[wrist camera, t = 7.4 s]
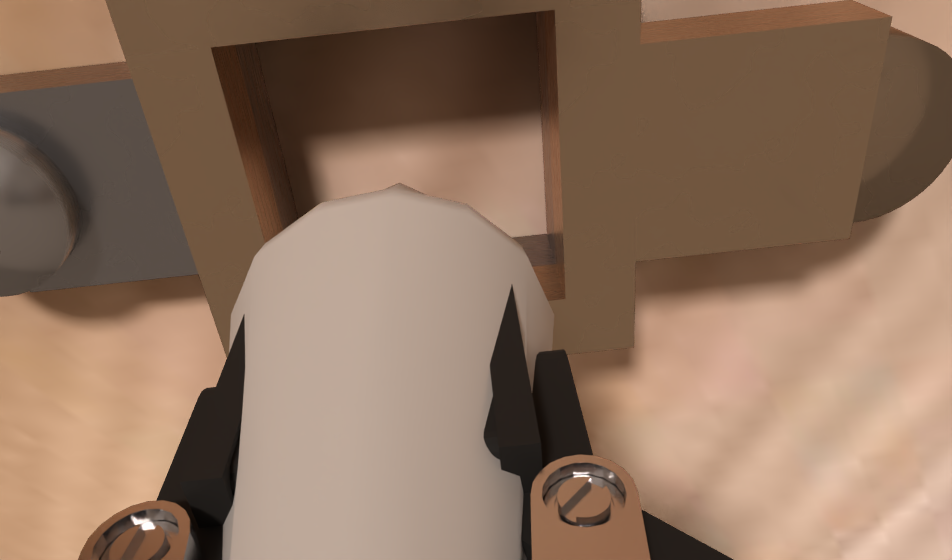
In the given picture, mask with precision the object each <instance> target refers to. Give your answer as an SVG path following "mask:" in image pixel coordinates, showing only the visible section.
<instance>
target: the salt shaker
mask: <svg viewBox="0 0 952 560" xmlns="http://www.w3.org/2000/svg"><path fill="white" fill-rule="evenodd" d="M511 285H512V286H513V291H514V297H515V302H516V308H517V313H518V319H519V324H520V330H521V335H522V341H523V346H524V352H525V357H526V363H527V369H528V374H529V380H530V385H531V391H532V390H533V380H534V370H535V360H536V356H537V354H538V353H539V352H543V351H552V343H553V327H554V313H553V311H552V309H551V307H550V305H549V302H548V300H547V298H546V296H545V294H544V292H543V289H542V287H541V285H540V283H539V281H538V278H537V276H536V274H535V272H534V270H533V268H532V265H531V263H530V261H529V259H528V257H527V255H526V253H525V251H524V249H523V247H522V246H521V244H519V243H518V242H517V241H515V240H514V239H513V238H511V237H510V236H509V235H507V234H506V233H505V232H503V231H502V230H501V229H499V228H498V227H497V226H495V225H494V224H493V223H491V222H490V221H489V220H487V219H486V218H485V217H483V216H482V215H481V214H479V213H478V212H477V211H475V210H474V209H473V208H472V207H470V206H469V205H468V204H465V203H460V202H456V201H451V200H446V199H442V198H437V197H433V196H428V195H426V194H423V193H421V192H419V191H417V190H415V189H412V188H410V187H408V186H406V185H403V184H401V183H398V184H396V185H393V186H391V187H389V188H386V189H384V190H380V191H375V192H370V193H365V194H360V195H355V196H351V197H346V198H341V199H336V200H331V201H326V202H321V203H320V204H319V205H317V206H316V207H314V208H313V209H312V210H310V211H309V212H308V213H306V214H305V215H303V216H302V217H301V218H299V219H298V220H297V221H295V222H294V223H292V224H291V225H290V226H288V227H287V228H286V229H284V230H283V231H281V232H280V233H279V234H277V235H276V236H275V237H273V238H272V239H271V240H269V241H268V242H266V243H265V244H264V246H263V247H262V248H261V249H260V250H259V252H258V253H257V254H256V255H255V256H254V259H253V261H252V264H251V266H250V269H249V271H248V274H247V276H246V279H245V281H244V284H243V286H242V289H241V291H240V294H239V296H238V299H237V301H236V303H235V306H234V308H233V311H232V313H231V324H230V344H229V352H230V349H231V347H232V344H233V341H234V339H235V336H236V334H237V331H238V328H239V326H240V323H241V321H242V318H243V315H245V380H244V395H243V409H242V421H241V431H240V445H239V459H238V471H237V480H236V488H235V494H234V496H233V497H234V498H233V505H232V508H231V510H230V512H229V514H228V516H227V518H226V520H225V522H224V524H223V551H222V560H527V558H526V556H525V554H524V550H523V546H522V541H521V534H522V514H523V495H524V493H523V488H522V484H521V479H520V476H518V475H515V474H512V473H509V472H506V471H503V470H501V465H500V460H499V459H497V458H496V457H494V456H493V455H492V454H491V453H490V451H489V449H488V448H487V446H486V444H485V441H484V438H483V436H484V428H485V424H486V421H487V417H488V413H489V409H490V405H491V401H492V397H493V392H492V383H491V374H490V362H491V358H492V354H493V351H494V347H495V343H496V340H497V336H498V333H499V329H500V325H501V322H502V318H503V314H504V311H505V307H506V304H507V300H508V296H509V293H510V289H511Z"/></svg>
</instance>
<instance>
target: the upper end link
mask: <svg viewBox="0 0 952 560" xmlns="http://www.w3.org/2000/svg"><path fill="white" fill-rule="evenodd" d="M106 3H107V6H108V9H109V12H110V15H111V18H112V21H113V24H114V27H115V30H116V33H117V36H118V39H119V42H120V44H121V47H122V50H123V53H124V56H125V59H126V62H127V65H128V68H129V71H130V74H131V77H132V80H133V83H134V86H135V89H136V92H137V95H138V98H139V100H140V103H141V106H142V109H143V112H144V115H145V118H146V121H147V124H148V127H149V130H150V133H151V136H152V139H153V142H154V145H155V148H156V151H157V153H158V156H159V159H160V162H161V165H162V168H163V171H164V174H165V177H166V180H167V183H168V186H169V189H170V192H171V195H172V198H173V201H174V204H175V206H176V209H177V212H178V215H179V218H180V221H181V224H182V227H183V230H184V233H185V236H186V239H187V242H188V245H189V248H190V251H191V254H192V257H193V260H194V262H195V265H196V268H197V271H198V274H199V277H200V280H201V283H202V286H203V289H204V292H205V295H206V298H207V301H208V304H209V307H210V310H211V313H212V315H213V318H214V321H215V324H216V327H217V330H218V333H219V336H220V339H221V342H222V345H223V348H224V351H225V354H226V357H228V355H229V344H230V324H231V313H232V311H233V308H234V306H235V303H236V301H237V299H238V296H239V294H240V291H241V289H242V286H243V284H244V281H245V279H246V276H247V274H248V271H249V269H250V266H251V264H252V261H253V259H254V256H255V255H256V254H257V253H258V252H259V250H260V249H261V248H262V247H263V246H264V244H265V243H266V242H268V241H269V240H271V239H272V238H273V237H275V236H276V235H277V234H279V233H280V232H281V231H283V228H282V224H281V220H280V216H279V212H278V208H277V205H276V201H275V197H274V193H273V189H272V185H271V182H270V178H269V174H268V170H267V166H266V162H265V158H264V155H263V151H262V147H261V143H260V139H259V135H258V132H257V128H256V124H255V120H254V116H253V112H252V108H251V105H250V101H249V97H248V93H247V89H246V85H245V82H244V78H243V74H242V70H241V66H240V62H239V59H238V55H237V51H236V47H235V45H237V44H246V43H256V42H265V41H274V40H283V39H292V38H301V37H310V36H319V35H328V34H338V33H347V32H356V31H365V30H374V29H383V28H392V27H401V26H411V25H420V24H429V23H438V22H447V21H456V20H465V19H474V18H483V17H493V16H502V15H511V14H520V13H529V12H538V11H544V13H545V35H546V58H547V80H548V103H549V125H550V148H551V170H552V193H553V215H554V237H555V260H556V264H552V265H543V266H534V267H532V268H533V270H534V272H535V274H536V276H537V278H538V281H539V283H540V285H541V287H542V289H543V292H544V294H545V296H546V298H547V300H548V302H549V305H550V307H551V309H552V311H553V313H554V327H553V343H552V350H562V349H564V350H565V351H566V354H567V355H568V354H578V353H587V352H596V351H606V350H615V349H624V348H634V319H635V271H636V262H637V261H646V260H655V259H665V258H674V257H683V256H693V255H702V254H711V253H720V252H730V251H739V250H748V249H758V248H767V247H776V246H785V245H795V244H804V243H813V242H823V241H832V240H841V239H850V234H851V229H852V224H853V223H854V222H860V221H865V220H869V219H873V218H876V217H879V216H882V215H884V214H887V213H889V212H891V211H893V210H895V209H897V208H899V207H901V206H903V205H904V204H906V203H907V202H909V201H911V200H912V199H913V198H915V197H916V196H917V195H919V194H920V193H921V192H923V191H924V190H925V189H926V188H927V187H928V186H929V185H930V184H931V183H932V182H933V181H934V180H935V179H936V178H937V177H938V176H939V175H940V174H941V172H942V171H943V170H944V168H945V167H946V166H947V164H948V163H949V162H950V160H951V158H952V58H951V57H950V56H949V55H948V54H947V53H946V52H944V51H943V50H941V49H940V48H938V47H937V46H934V45H932V44H930V43H928V42H925V41H923V40H921V39H918V38H916V37H914V36H912V35H909V34H907V33H905V32H902V31H900V30H898V29H895V28H893V27H891V21H892V16H890V15H887V14H885V13H882V12H880V11H877V10H875V9H873V8H870V7H868V6H865V5H863V4H860V3H858V2H856V1H853V0H846V1H837V2H828V3H818V4H809V5H800V6H791V7H782V8H773V9H764V10H754V11H745V12H736V13H727V14H718V15H709V16H700V17H691V18H681V19H672V20H663V21H654V22H645V23H641V0H106Z"/></svg>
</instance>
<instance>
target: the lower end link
mask: <svg viewBox="0 0 952 560" xmlns="http://www.w3.org/2000/svg"><path fill="white" fill-rule="evenodd" d="M536 23H537V43H538V63H539V83H540V102H541V122H542V142H543V162H544V182H545V202H546V222H547V234H542V235H533V236H524V237H514V238H513V239H514V240H515V241H517V242H518V243H519V244H521V246H522V247H523V249H524V251H525V253H526V255H527V257H528V259H529V261H530V263H531V265H532V267H534V266H543V265H552V264H556V260H555V237H554V215H553V193H552V170H551V148H550V125H549V103H548V80H547V58H546V35H545V13H544V11H538V12H536ZM235 47H236V51H237V55H238V59H239V62H240V66H241V70H242V74H243V78H244V82H245V85H246V89H247V93H248V97H249V101H250V105H251V108H252V112H253V116H254V120H255V124H256V128H257V132H258V135H259V139H260V143H261V147H262V151H263V155H264V158H265V162H266V166H267V170H268V174H269V178H270V182H271V185H272V189H273V193H274V197H275V201H276V205H277V208H278V212H279V216H280V220H281V224H282V228H283V230H284V229H286V228H287V227H288V226H290V225H291V224H292V223H294V222H295V221H297V220H298V216H297V212H296V208H295V204H294V200H293V196H292V192H291V187H290V183H289V179H288V175H287V171H286V167H285V163H284V159H283V155H282V151H281V147H280V143H279V139H278V135H277V131H276V126H275V122H274V118H273V114H272V110H271V106H270V102H269V98H268V94H267V90H266V86H265V82H264V78H263V74H262V70H261V66H260V61H259V57H258V53H257V49H256V45H255V43H246V44H237V45H235ZM196 274H198V271H197V268H196V265H195V262H194V260H193V257H192V254H191V251H190V248H189V245H188V242H187V239H186V236H185V233H184V230H183V227H182V224H181V221H180V218H179V215H178V212H177V209H176V206H175V204H174V201H173V198H172V195H171V192H170V189H169V186H168V183H167V180H166V177H165V174H164V171H163V168H162V165H161V162H160V159H159V156H158V153H157V151H156V148H155V145H154V142H153V139H152V136H151V133H150V130H149V127H148V124H147V121H146V118H145V115H144V112H143V109H142V106H141V103H140V100H139V98H138V95H137V92H136V89H135V86H134V83H133V80H132V77H131V74H130V71H129V68H128V65H127V62H118V63H109V64H100V65H91V66H82V67H73V68H63V69H54V70H45V71H36V72H27V73H18V74H9V75H0V297H3V296H12V295H18V294H22V293H25V292H28V291H30V292H38V291H47V290H57V289H66V288H75V287H84V286H94V285H103V284H112V283H121V282H131V281H140V280H149V279H158V278H168V277H177V276H186V275H196Z"/></svg>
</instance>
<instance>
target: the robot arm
mask: <svg viewBox="0 0 952 560" xmlns="http://www.w3.org/2000/svg"><path fill="white" fill-rule="evenodd" d="M490 374H491V383H492V392H493V397H492V401H491V405H490V409H489V413H488V417H487V421H486V424H485V428H484V436H483V438H484V441H485V444H486V446H487V448H488V449H489V451H490V453H491V454H492V455H493V456H494V457H496V458H497V459H499V460H500V465H501V470H503V471H506V472H509V473H512V474H515V475H518V476H520V479H521V484H522V488H523V493H524V495H523V514H522V534H521V541H522V546H523V550H524V554H525V556H526V558H527V560H733V559H731V558H730V557H728V556H726V555H724V554H722V553H720V552H719V551H717V550H715V549H713V548H711V547H709V546H708V545H706V544H704V543H702V542H700V541H698V540H696V539H695V538H693V537H691V536H689V535H687V534H685V533H684V532H682V531H680V530H678V529H676V528H674V527H673V526H671V525H669V524H667V523H665V522H663V521H662V520H660V519H658V518H656V517H654V516H652V515H651V514H649V513H647V512H645V511H643V510H641V505H640V500H639V494H638V490H637V488H636V485H635V483H634V480H633V478H632V477H631V476H630V475H629V474H628V473H627V472H626V471H625V469H624V468H622V467H621V466H619V465H617V464H616V463H614V462H612V461H611V460H608V459H605V458H601V457H598V456H593V453H592V449H591V446H590V442H589V438H588V434H587V430H586V426H585V423H584V419H583V415H582V411H581V407H580V403H579V400H578V396H577V392H576V388H575V384H574V380H573V377H572V373H571V369H570V365H569V361H568V357H567V354H566V351H565V350H564V349H562V350H552V351H543V352H539V353H538V354H537V356H536V360H535V370H534V380H533V390H532V391H531V385H530V380H529V374H528V369H527V363H526V357H525V352H524V346H523V341H522V335H521V330H520V324H519V319H518V313H517V308H516V302H515V297H514V291H513V286H512V285H511V289H510V293H509V296H508V300H507V304H506V307H505V311H504V314H503V318H502V322H501V325H500V329H499V333H498V336H497V340H496V343H495V347H494V351H493V354H492V358H491V362H490ZM244 380H245V315H243V318H242V321H241V323H240V326H239V328H238V331H237V334H236V336H235V339H234V341H233V344H232V347H231V349H230V352H229V355H228V357H227V360H226V362H225V365H224V368H223V370H222V373H221V375H220V378H219V381H218V383H217V386H216V387H212V388H206V389H204V390H203V391H202V392H201V394H200V396H199V397H198V400H197V402H196V405H195V407H194V410H193V412H192V415H191V417H190V419H189V422H188V424H187V427H186V429H185V432H184V434H183V437H182V439H181V442H180V444H179V447H178V449H177V451H176V454H175V456H174V459H173V461H172V464H171V466H170V469H169V471H168V474H167V476H166V478H165V481H164V483H163V486H162V488H161V491H160V493H159V496H158V498H157V501H147V502H144V503H140V504H137V505H133V506H130V507H128V508H126V509H124V510H122V511H120V512H118V513H116V514H115V515H113V516H112V517H110V518H109V519H108V520H106V521H105V522H104V523H102V524H101V525H100V526H99V527H98V528H97V529H96V530H95V531H94V532H93V534H92V535H91V536H90V537H89V538H88V540H87V542H86V543H85V545H84V547H83V549H82V551H81V553H80V556H79V558H78V560H222V551H223V524H224V522H225V520H226V518H227V516H228V514H229V512H230V510H231V508H232V505H233V498H234V497H233V496H234V494H235V488H236V480H237V471H238V459H239V445H240V431H241V421H242V409H243V395H244Z"/></svg>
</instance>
